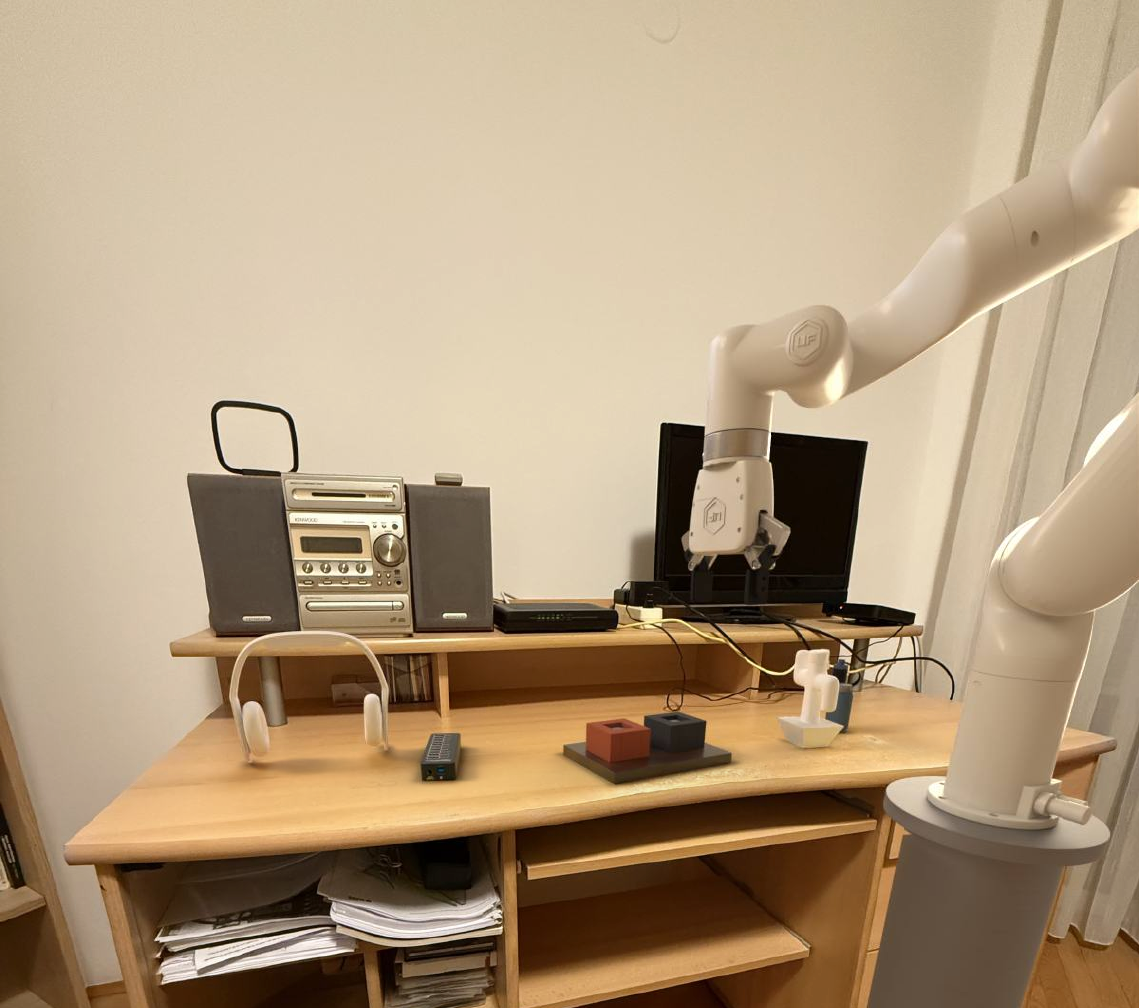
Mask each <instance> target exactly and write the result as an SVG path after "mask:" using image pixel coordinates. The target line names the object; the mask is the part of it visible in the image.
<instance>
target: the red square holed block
mask: <svg viewBox="0 0 1139 1008" xmlns="http://www.w3.org/2000/svg"><path fill="white" fill-rule="evenodd" d="M585 727H586V728H585V729H586V730H585V742H586V750H587V751H589V752H591V753H593V754H595V755H596V756H598V757H600V758H602V759H604V760H606V761H608V762H610V763H611V762H617V761H623V760H629V759H636V758H642V757H648V756H649V749H650V733H651V729H650V728H647V727H645V726H644V725H643V724H639V723H638V722H635V721H633V720H630V719H628V718H615V719H607V720H601V721H592V722H586V725H585ZM616 727H619V728H625V729H619V730H613V729H612V728H616Z"/></svg>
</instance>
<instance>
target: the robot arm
mask: <svg viewBox="0 0 1139 1008" xmlns="http://www.w3.org/2000/svg"><path fill="white" fill-rule="evenodd" d="M1137 230H1139V66H1137V67H1136V68H1135V69H1134V70H1133V71H1132V72H1130V73H1129V74H1128V75H1127V76H1125V78H1123V79H1122V80H1121V81H1120V82H1119V83H1118V84H1117V85H1116V86H1115V88H1114V89H1113V90H1112V91H1111V92H1110V94H1109V95H1108V96H1107V97H1106V99H1105V100H1104V102H1103V103H1102V105H1101V107H1100V108H1099V110H1098V111H1097V113H1096V115H1095V118H1094V120H1093V123H1092V124H1091V125H1090V127H1089V130H1088V132H1087V135H1086V137H1085V139H1084V140H1082V141H1081V142H1080V143H1078V144H1076V145H1075V146H1073V147H1071V148H1070V149H1068V150H1067V151H1065V152H1064V153H1062V154H1060V155H1059V156H1056V157H1055V158H1054V159H1052V160H1050V161H1049V162H1048V163H1046V164H1045V165H1043V166H1042V167H1040V168H1038V169H1037V170H1035V171H1033V172H1032V173H1030V174H1028V175H1027V176H1025V177H1024V178H1022V179H1020V180H1019V181H1017V182H1015V183H1013V184H1012V185H1010V186H1009V187H1007V188H1005V189H1004V190H1002V191H1000V192H999V193H997V194H995V195H993V196H991V197H990V198H988V199H987V200H985V201H983V202H982V203H980V204H979V205H977V206H975V207H973V208H972V209H970V210H968V211H967V212H965V213H964V214H962V215H960V216H958V217H957V218H956V219H955V220H953V222H951V223H950V224H949V225H948V226H947V227H946V228H945V229H944V230H943V231H942V232H941V233H940V234H939V235H938V237H937V238H936V239H935V240H934V242H933V243H931V245H930V246H929V248H928V249H927V250H926V251H925V253H924V254H923V255H922V257H921V258H920V259H919V261H918V262H917V264H916V265H915V266H914V268H912V270H911V271H910V272H909V273H908V274H907V276H906V277H905V278H904V279H903V280H902V281H901V282H900V283H899V284H898V285H897V286H895V288H894V289H892V290H891V291H890V292H889V293H888V294H886V296H884V297H883V298H881V299H880V300H879V301H877V302H876V303H875V304H873V305H872V306H871V307H869V308H868V309H866V310H864V311H862V312H861V313H859V314H858V315H857V316H854V317H853V318H851V319H850V320H848V321H846V319H845V318H844V317H845V316H844V315H843V314H842V313H841V312H840V311H839V310H837V309H836V308H835V307H832V306H830V305H825V304H814V305H809V306H805V307H802V308H799V309H796V310H794V311H791V312H789V313H786V314H784V315H781V316H779V317H776V318H774V319H771V320H768V321H765V322H763V323H760V324H759V323H758V324H741V325H740V324H739V325H735V326H732V327H729V328H726V329H724V330H722V331H720V332H718V333H717V335H715V336H714V337H713V339H712V341H711V342H710V345H709V349H708V357H707V377H706V397H705V401H706V402H705V419H704V420H705V421H704V438H703V439H704V440H703V453H702V461H703V462H702V469H700V470H698V474H697V478H696V481H695V482H696V483H695V487H694V491H693V498H692V505H691V506H692V507H691V514H690V522H689V530H687V532H685V533H684V534H683V535H682V537H681V544H682V548H683V551H684V558H685V560H686V561H687V563H688V565H687V567H688V570H689V571H690V572H691V576H690V595H689V596H690V597H689V600H690V602H691V603H709V602H711V601H712V599H713V597H712V596H713V580H714V570H710V568H711V567H712V565H713V563H714V562H715V560H716V558H717V556H718V555H719V556H720V555H722V556H725V555H726V556H727V555H744V557H745V559H746V560H747V562H748V565H749V566H750V568H751V569H746V572H745V582H744V584H745V585H744V597H743V598H744V599H743V603H744V604H745V605H746V606H755V605H756V606H757V605H759V606H761V605H766V604H767V603H768V595H769V594H768V593H769V583H770V571H771V570H773V569H774V568H775V567H776V561H778V559H779V558H780V556H781V555H782V554H783V553H784V547H785V545H786V543H787V541H788V539H789V536H790V534H791V527H789V526H788V525H786V524H784V522H781V521H780V520H778V518H776V517H774V502H775V501H774V479H773V477H774V476H773V467H772V463H771V462H770V461H769V460H770V450H771V449H770V447H771V437H772V435H771V433H772V420H773V407H774V396H775V393H776V392H778V391H782V392H784V393H786V394H787V395H788V397H789V398H790V399H791V400H792V402H793V403H795V404H796V405H798V406H800V407H802V408H805V409H820V408H824V407H827V406H831V405H833V404H835V403H837V402H840V401H841V400H843V399H845V398H847V397H849V396H851V395H853V394H855V393H857V392H859V391H861V390H863V389H864V388H867V387H869V386H871V385H872V384H875V383H876V382H878V381H880V380H881V379H884V378H885V377H887V376H889V375H891V374H892V373H894V372H895V371H897V370H899V369H901V368H902V367H904V366H905V365H907V364H908V363H911V362H912V361H913V360H915V359H916V358H917V357H920V356H921V355H922V354H923V353H925V352H926V351H928V350H930V349H931V348H933V347H934V346H937V344H939V343H941V342H942V341H943V340H946V339H947V338H949V337H950V336H951V335H953V334H954V333H956V332H957V331H958V330H960V329H961V328H962V327H964V326H965V325H966V324H967V323H969V322H970V321H972V320H973V319H975V318H976V317H978V316H980V315H982V314H984V313H986V312H988V311H990V310H991V309H993V308H996V307H997V306H999V305H1000V304H1002V303H1004V302H1006V301H1008V300H1010V299H1012V298H1014V297H1015V296H1018V295H1019V294H1022V293H1023V292H1025V291H1026V290H1029V289H1031V288H1032V287H1034V286H1036V285H1038V284H1040V283H1042V282H1044V281H1045V280H1048V279H1050V278H1051V277H1053V276H1055V275H1057V274H1059V273H1060V272H1063V271H1064V270H1066V269H1068V268H1071V267H1072V266H1074V265H1076V264H1078V263H1080V262H1082V261H1083V260H1085V259H1087V258H1089V257H1091V256H1093V255H1095V254H1097V253H1098V252H1100V251H1102V250H1104V249H1106V248H1108V247H1110V246H1112V245H1113V244H1115V243H1117V242H1119V241H1121V240H1123V239H1125V238H1126V237H1128V236H1129V235H1132V234H1133V233H1135V232H1136V231H1137ZM1138 583H1139V391H1138V392H1137V393H1136V394H1135V396H1133V398H1132V399H1131V400H1130V401H1129V402H1128V403H1127V405H1126V406H1125V407H1123V409H1122V410H1121V411H1120V412H1119V413H1118V414H1116V416H1115V417H1113V418H1112V419H1111V420H1110V421H1109V422H1108V423H1107V425H1105V427H1104V428H1103V429H1102V430H1101V431H1100V432H1099V434H1098V435H1097V436H1096V438H1095V439H1094V441H1093V442H1092V443H1091V446H1090V447H1089V450H1088V452H1087V454H1086V456H1085V459H1084V463H1083V467H1082V468H1081V469H1080V470H1079V472H1078V473H1077V474H1076V475H1075V476H1074V478H1072V480H1071V481H1070V482H1069V483H1068V484H1067V485H1066V486H1065V488H1064V489H1063V490H1062V492H1060V494H1059V495H1058V496H1057V497H1056V498H1055V500H1054V501H1052V503H1051V504H1050V505H1049V506H1048V507H1047V509H1046V510H1044V512H1043V513H1042V514H1041V515H1038V516H1036V517H1034V518H1032V519H1029V520H1027V521H1025V522H1024V523H1022V524H1021V525H1019V526H1018V527H1016V528H1015V529H1014V530H1012V531H1011V532H1010V534H1009V535H1007V537H1005V539H1004V540H1003V541H1002V543H1001V544H1000V546H999V547H998V549H997V550H996V552H995V554H994V556H993V558H992V561H991V563H990V567H989V571H988V574H987V579H986V586H985V591H984V592H985V593H984V601H983V606H982V613H981V619H980V624H979V629H978V635H977V640H976V643H975V644H976V645H975V649H974V653H973V658H972V661H971V667H970V670H969V674H968V678H967V682H966V686H965V692H964V697H963V701H962V705H961V708H960V709H961V710H960V713H959V718H958V722H957V727H956V732H955V735H954V740H953V745H952V749H951V753H950V757H949V762H948V767H947V771H946V779H945V781H941V782H937V783H933V784H932V785H930V786H929V787H928V790H927V798H928V800H929V801H930V802H931V803H932V804H933V805H934V806H936V807H937V808H939V809H941V810H943V811H945V812H947V813H949V814H952V815H955V816H957V817H960V818H963V819H966V820H969V821H973V822H977V823H981V824H985V825H990V826H995V827H1002V828H1008V829H1019V830H1040V829H1046V828H1051V827H1053V826H1055V825H1056V824H1057V823H1058V821H1059V817H1062V819H1065V820H1068V821H1071V822H1074V823H1078V824H1081V825H1085V824H1086V823H1087V822H1088V821H1089V819H1090V817H1091V814H1092V815H1093V808H1092V807H1091V806H1089V802H1088V801H1087V800H1082V799H1079V798H1075V797H1070V796H1066V795H1064V794H1063V792H1062V791H1060V790H1061V788H1062V787H1061V786H1062V783H1063V781H1062V780H1059V779H1055V778H1053V775H1054V771H1055V768H1056V764H1057V761H1058V757H1059V753H1060V750H1061V746H1062V743H1063V739H1064V736H1065V732H1066V729H1067V725H1068V723H1069V719H1070V716H1071V711H1072V708H1073V705H1074V701H1075V698H1076V694H1077V691H1078V687H1079V684H1080V680H1081V679H1082V676H1083V672H1084V668H1085V665H1086V661H1087V657H1088V655H1089V649H1090V644H1091V641H1092V636H1093V635H1092V634H1093V628H1094V622H1095V615H1096V611H1097V610H1099V609H1101V608H1104V607H1106V606H1108V605H1110V604H1111V603H1113V602H1114V601H1116V600H1118V599H1119V598H1120V597H1122V596H1123V595H1124V594H1126V593H1127V592H1129V591H1130V590H1131V589H1132V588H1133V587H1134V586H1135V585H1136V584H1138Z"/></svg>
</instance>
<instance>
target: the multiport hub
mask: <svg viewBox="0 0 1139 1008" xmlns="http://www.w3.org/2000/svg"><path fill="white" fill-rule="evenodd" d="M461 751H462V734H461V733H459V732H439V733H438V732H437V733H436V732H434V733H430V736H429V738H428V741H427V744H426V747H425V750H424V753H423V756H422V758H421V761H420V777H421V781H425V782H427V781H428V782H429V781H456V780H457V776H458V771H459V763H460V757H461Z"/></svg>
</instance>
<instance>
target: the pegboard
mask: <svg viewBox="0 0 1139 1008" xmlns="http://www.w3.org/2000/svg"><path fill="white" fill-rule="evenodd" d="M670 721H672V722H678V721H679V720H670ZM612 729H613V730H619V729H625V728H619V727H616V728H612ZM562 755H564V756H565V757H567V758H569V759H571V760H572V761H574V762H576V763H577V764H579V765H580V766H582V767H584V768H586V769H588V770H590V771H591V772H592V773H595V774H596V775H598V776H600V777H601V778H603V779H605V780H607V781H609V782H610V783H612V784H613V785H616V784H617V785H618V784H622V783H628V782H632V781H638V780H644V779H649V778H650V779H651V778H655V777H659V776H666V775H669V774H670V775H671V774H676V773H681V772H686V771H687V772H688V771H692V770H693V771H694V770H698V769H704V768H709V767H714V766H719V765H720V766H721V765H725V764H731V763H732V755H733V753H732V752H731V751H728V750H726V749H723V748H720V747H718V746H715V745H712V744H710V743H707V742H705V745H704V747H702V748H695V749H690V750H684V751H678V752H672V753H668V752H666V751H664V750H661V749H659V748H657V747H655V746H652V745H650V749H649V756H648V757H642V758H636V759H629V760H623V761H617V762H611V763H610V762H608V761H606V760H604V759H602V758H600V757H598V756H596V755H595V754H593V753H591V752H589V751H587V750H586V741H582V742H581V741H580V742H574V743H568V744H563V745H562Z"/></svg>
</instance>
